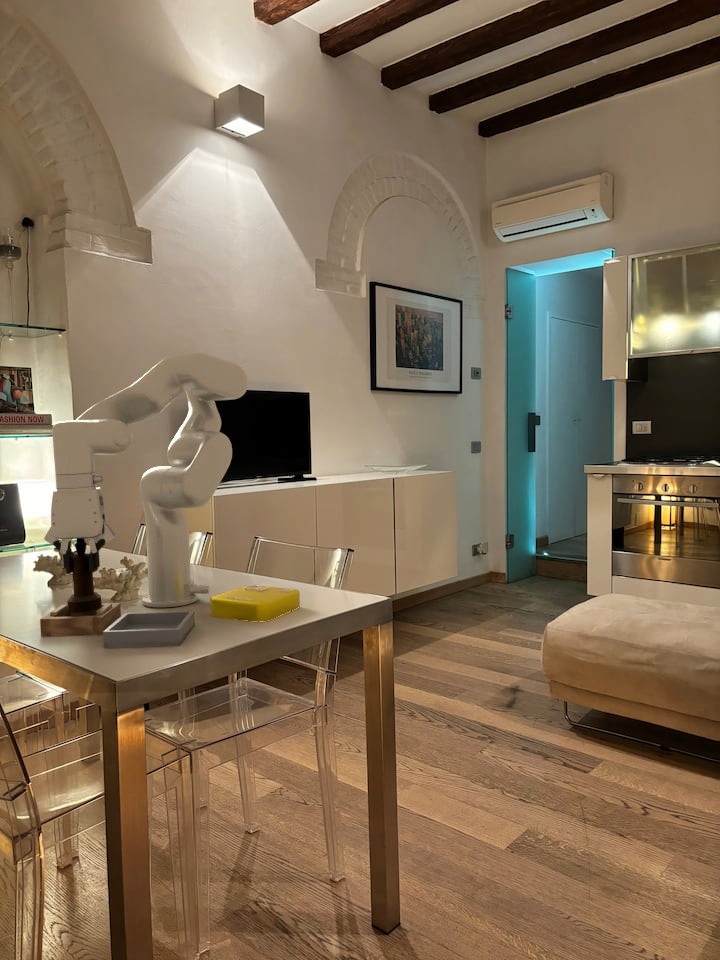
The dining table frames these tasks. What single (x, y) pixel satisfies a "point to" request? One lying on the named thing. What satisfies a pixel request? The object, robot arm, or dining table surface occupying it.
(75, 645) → the dining table surface
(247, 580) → the dining table surface
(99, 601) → the wooden pepper mill
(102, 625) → the walnut tray
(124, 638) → the gray square tray
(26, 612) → the dining table surface
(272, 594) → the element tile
